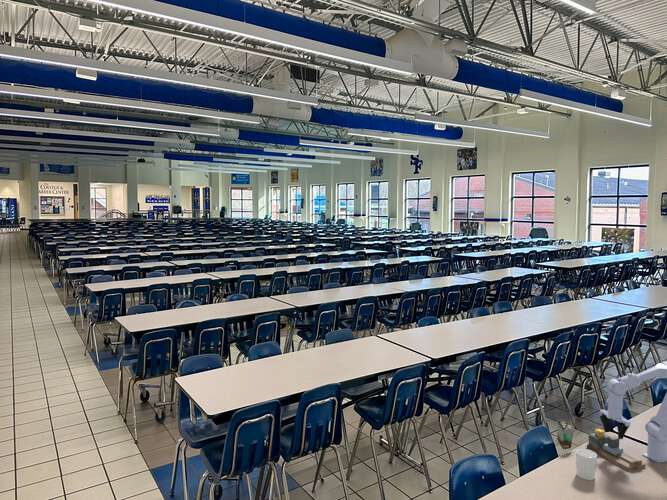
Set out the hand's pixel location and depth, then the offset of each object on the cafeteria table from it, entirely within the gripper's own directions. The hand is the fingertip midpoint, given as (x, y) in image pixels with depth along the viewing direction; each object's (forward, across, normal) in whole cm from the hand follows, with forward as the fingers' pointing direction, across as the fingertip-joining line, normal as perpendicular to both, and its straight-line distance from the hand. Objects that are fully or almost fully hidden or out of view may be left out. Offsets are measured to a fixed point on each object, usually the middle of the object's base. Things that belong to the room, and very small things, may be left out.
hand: (613, 435), depth 219 cm
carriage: (+8, 0, 0) cm, 8 cm away
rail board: (+10, +1, 0) cm, 10 cm away
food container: (+10, -15, -12) cm, 22 cm away
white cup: (+10, +10, -26) cm, 30 cm away
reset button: (+6, -8, 0) cm, 10 cm away
